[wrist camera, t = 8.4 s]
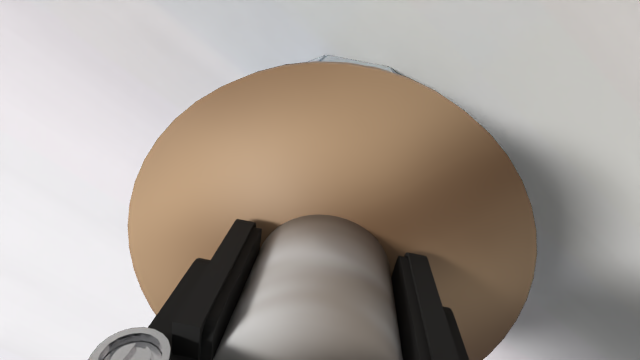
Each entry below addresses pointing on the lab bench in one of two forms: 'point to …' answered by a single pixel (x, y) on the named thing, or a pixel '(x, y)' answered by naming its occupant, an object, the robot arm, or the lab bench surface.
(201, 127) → the lid
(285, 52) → the lab bench surface
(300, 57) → the lab bench surface
